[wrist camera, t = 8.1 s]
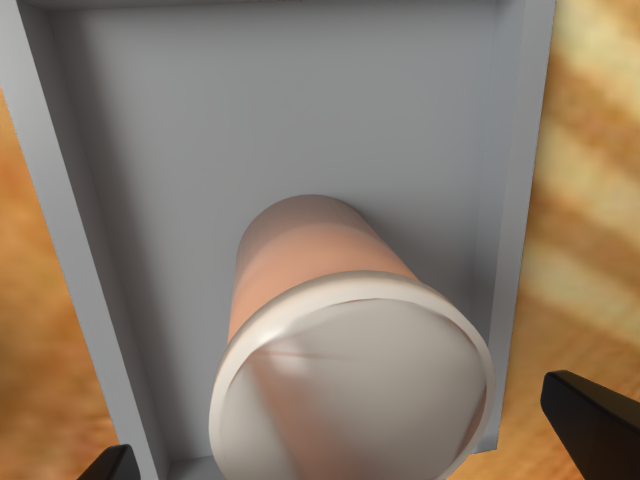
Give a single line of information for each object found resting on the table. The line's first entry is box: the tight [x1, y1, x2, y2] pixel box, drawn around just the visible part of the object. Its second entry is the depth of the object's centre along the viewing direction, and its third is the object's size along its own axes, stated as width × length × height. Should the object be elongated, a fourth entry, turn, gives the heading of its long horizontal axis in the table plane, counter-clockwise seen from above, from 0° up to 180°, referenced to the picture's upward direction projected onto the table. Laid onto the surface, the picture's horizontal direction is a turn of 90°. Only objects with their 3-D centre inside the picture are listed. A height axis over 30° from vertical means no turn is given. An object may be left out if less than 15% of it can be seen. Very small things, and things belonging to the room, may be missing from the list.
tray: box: [0, 0, 556, 480], centre depth 15 cm, size 16×20×2 cm
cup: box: [209, 194, 496, 480], centre depth 12 cm, size 6×6×8 cm
